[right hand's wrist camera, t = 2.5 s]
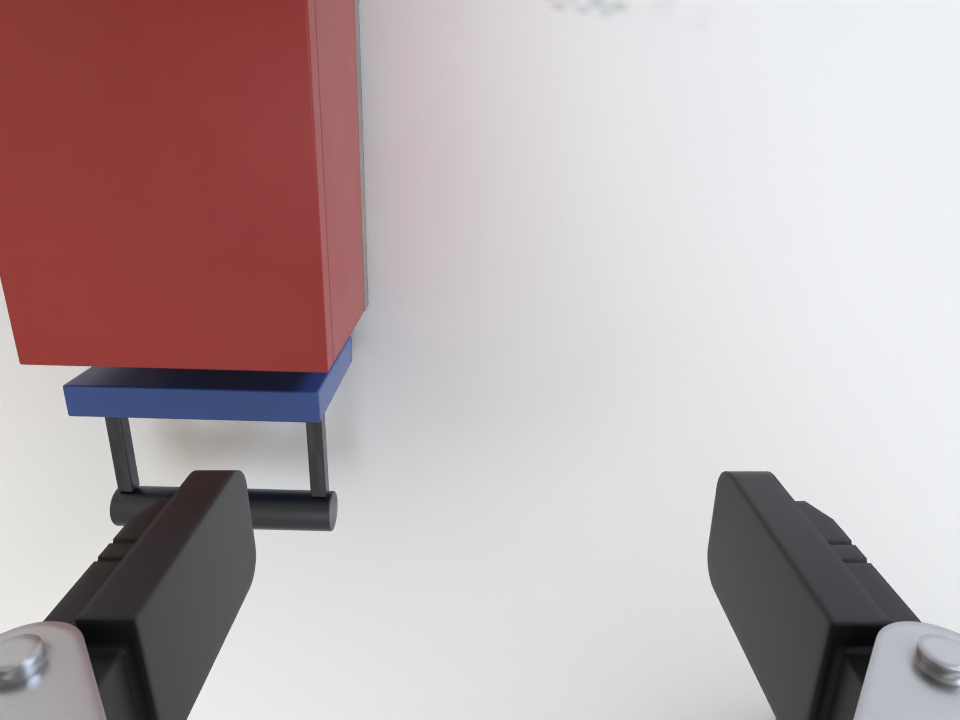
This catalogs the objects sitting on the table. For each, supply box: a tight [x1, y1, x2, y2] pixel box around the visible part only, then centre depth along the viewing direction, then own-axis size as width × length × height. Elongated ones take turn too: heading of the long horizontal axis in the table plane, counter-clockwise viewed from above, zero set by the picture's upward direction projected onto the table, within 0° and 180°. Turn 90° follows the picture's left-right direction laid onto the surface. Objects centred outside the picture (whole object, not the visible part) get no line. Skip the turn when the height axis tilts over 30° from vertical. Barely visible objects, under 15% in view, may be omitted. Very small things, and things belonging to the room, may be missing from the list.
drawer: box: [63, 336, 352, 531], centre depth 24 cm, size 23×9×6 cm, turn 178°
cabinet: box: [0, 0, 368, 373], centre depth 22 cm, size 19×10×8 cm, turn 178°
